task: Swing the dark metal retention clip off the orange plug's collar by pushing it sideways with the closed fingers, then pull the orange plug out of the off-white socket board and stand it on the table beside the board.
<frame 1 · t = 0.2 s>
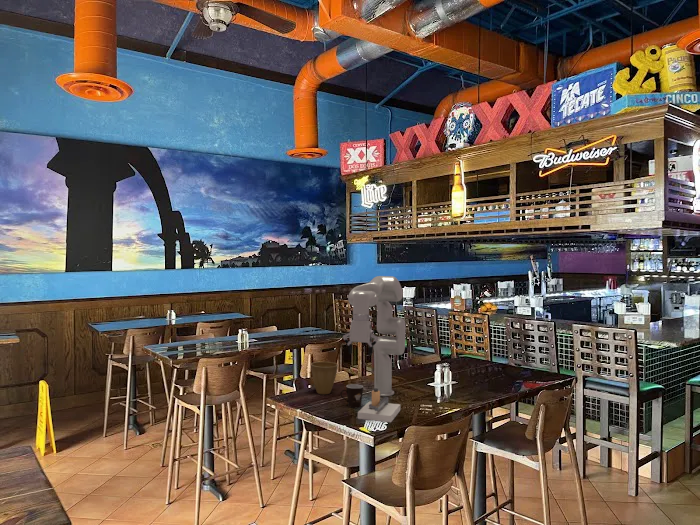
hand: (360, 354, 248), 30 cm above the table, tool pointing down, fingers open, 9 cm apart
coffee mug: (351, 406, 267), on the table
clip: (381, 405, 252), point 5 cm above the table, hinge at 0.0°
plant pot: (324, 393, 291), on the table
plug: (375, 401, 253), in the socket board
socket board: (375, 414, 254), on the table
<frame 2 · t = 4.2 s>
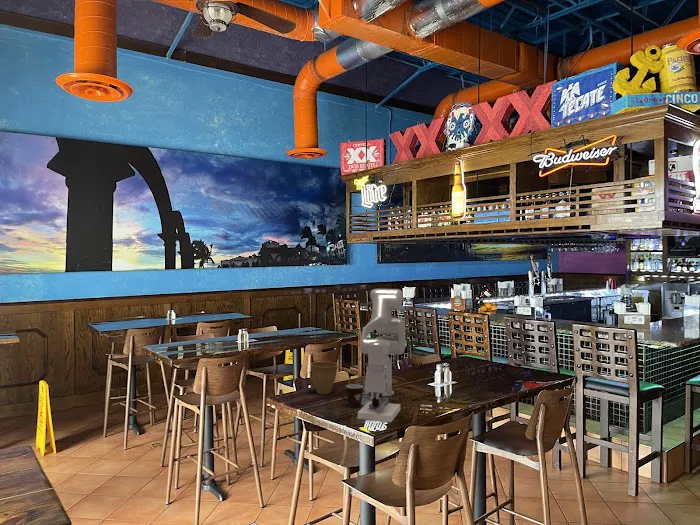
hand: (375, 406, 248), 5 cm above the table, tool pointing down, fingers closed
clip: (382, 405, 252), point 5 cm above the table, hinge at 2.4°, touching gripper
everything else where it was.
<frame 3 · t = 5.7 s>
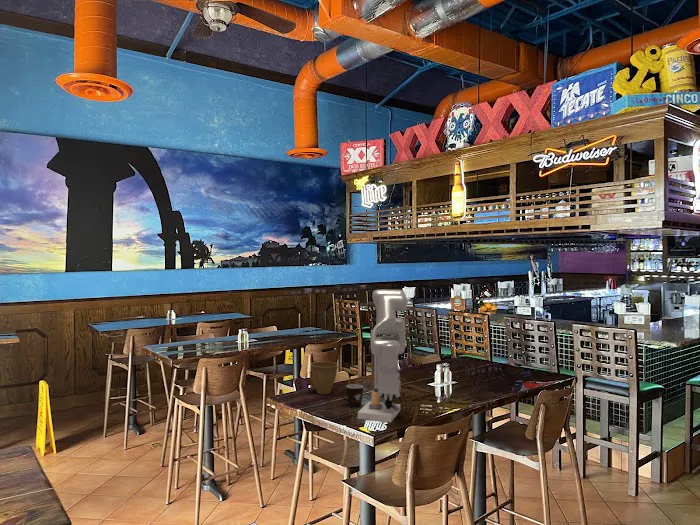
hand: (388, 408, 247), 5 cm above the table, tool pointing down, fingers closed
clip: (391, 405, 252), point 5 cm above the table, hinge at 31.0°, touching gripper
everything else where it was.
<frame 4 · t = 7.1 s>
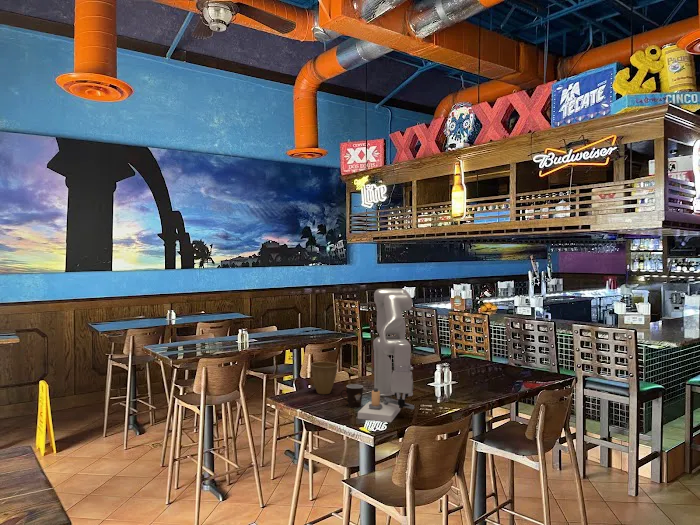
hand: (401, 407, 249), 5 cm above the table, tool pointing down, fingers closed
clip: (398, 404, 254), point 5 cm above the table, hinge at 58.8°, touching gripper
everything else where it was.
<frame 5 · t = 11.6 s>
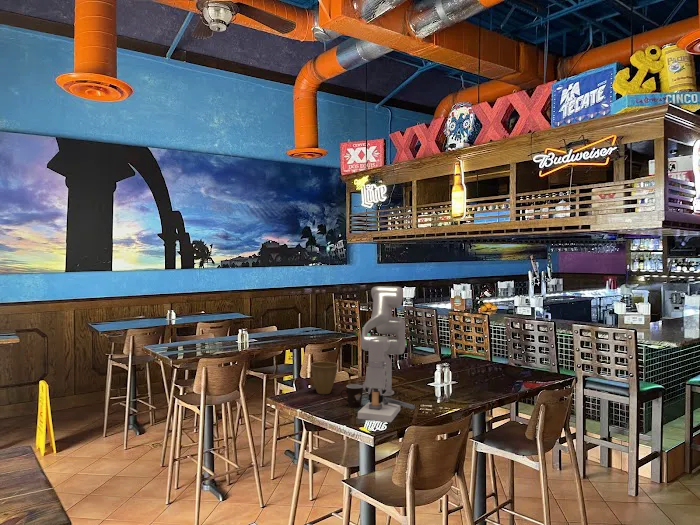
hand: (375, 402, 253), 6 cm above the table, tool pointing down, fingers closed on plug, 4 cm apart
clip: (398, 404, 254), point 5 cm above the table, hinge at 60.1°
plug: (375, 401, 253), in the socket board, touching gripper
everything else where it was.
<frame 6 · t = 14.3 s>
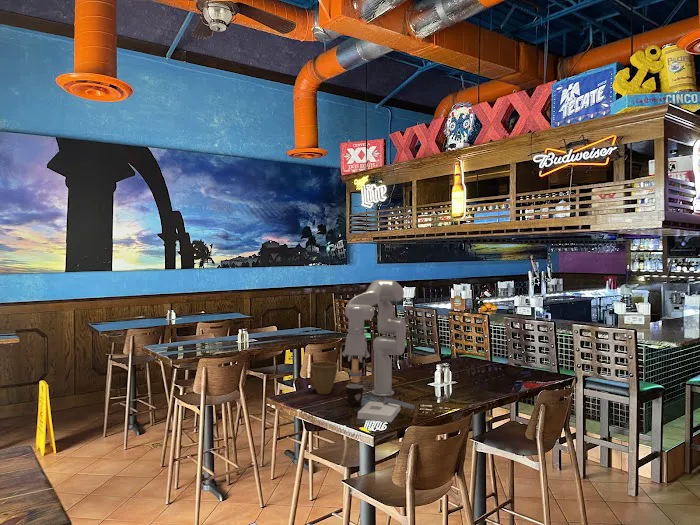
hand: (355, 369, 253), 21 cm above the table, tool pointing down, fingers closed on plug, 4 cm apart
plug: (355, 368, 253), point 22 cm above the table, touching gripper
everything else where it was.
when the fingers open (7 cm above the table, at t = 17.5 s): plug drops 1 cm, on the table.
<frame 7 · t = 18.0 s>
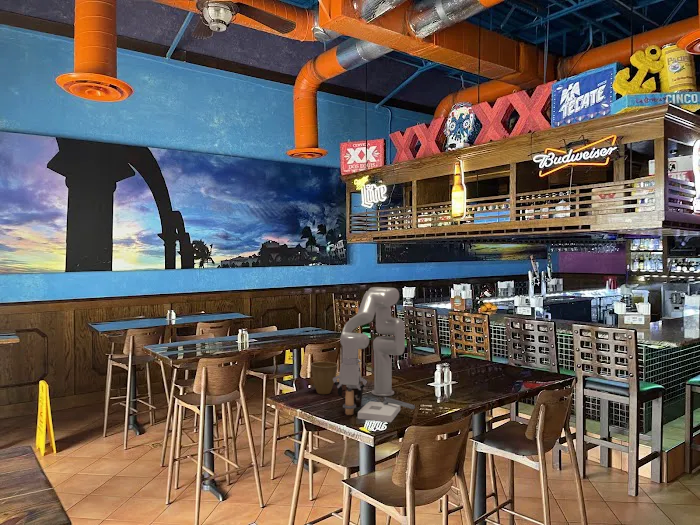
hand: (349, 396, 253), 8 cm above the table, tool pointing down, fingers open, 9 cm apart
plug: (349, 401, 253), on the table
everything else where it was.
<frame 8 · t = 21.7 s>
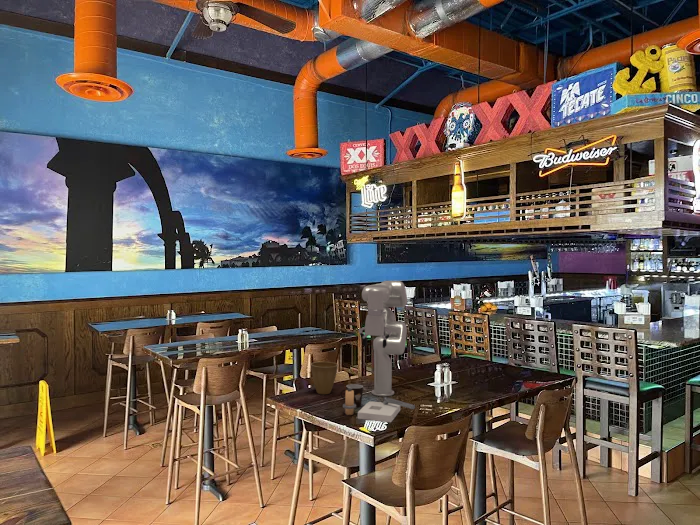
hand: (374, 346, 266), 30 cm above the table, tool pointing down, fingers open, 9 cm apart
nothing on the table moved.
at the end: clip at +60° (first picture: +0°); plug inside the target area (0.0 cm from its centre), on the table; plug tilted 0° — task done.
